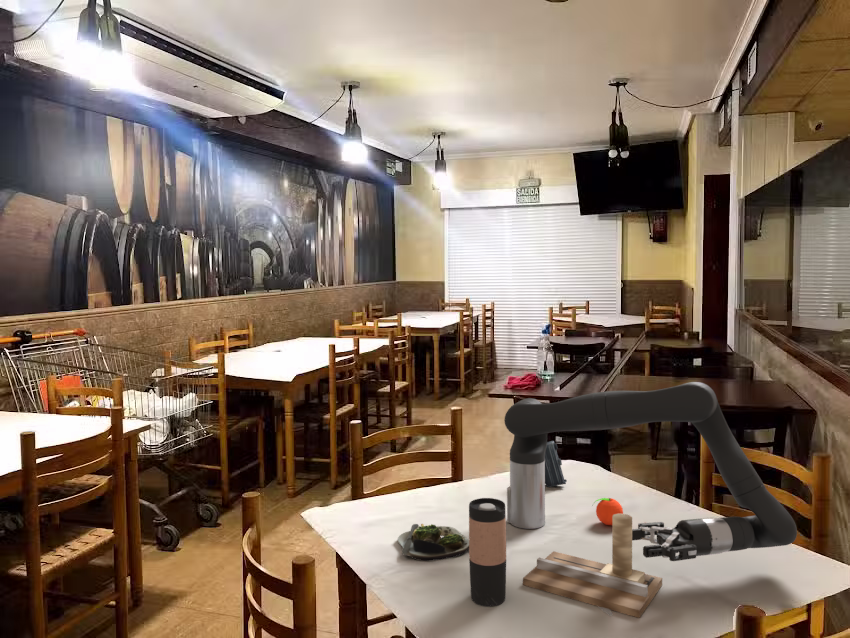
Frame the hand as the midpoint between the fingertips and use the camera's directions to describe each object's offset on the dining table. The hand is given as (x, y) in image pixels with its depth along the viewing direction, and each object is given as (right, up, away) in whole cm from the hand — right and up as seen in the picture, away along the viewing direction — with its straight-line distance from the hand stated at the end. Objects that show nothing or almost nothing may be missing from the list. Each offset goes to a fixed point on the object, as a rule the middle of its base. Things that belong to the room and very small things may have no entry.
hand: (633, 543), depth 139 cm
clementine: (+4, -7, +35) cm, 36 cm away
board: (-8, -10, +2) cm, 13 cm away
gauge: (-2, -8, 0) cm, 9 cm away
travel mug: (-31, -11, -3) cm, 33 cm away
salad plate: (-42, -9, +23) cm, 49 cm away
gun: (-8, -5, +68) cm, 68 cm away
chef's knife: (-8, -11, -2) cm, 14 cm away
